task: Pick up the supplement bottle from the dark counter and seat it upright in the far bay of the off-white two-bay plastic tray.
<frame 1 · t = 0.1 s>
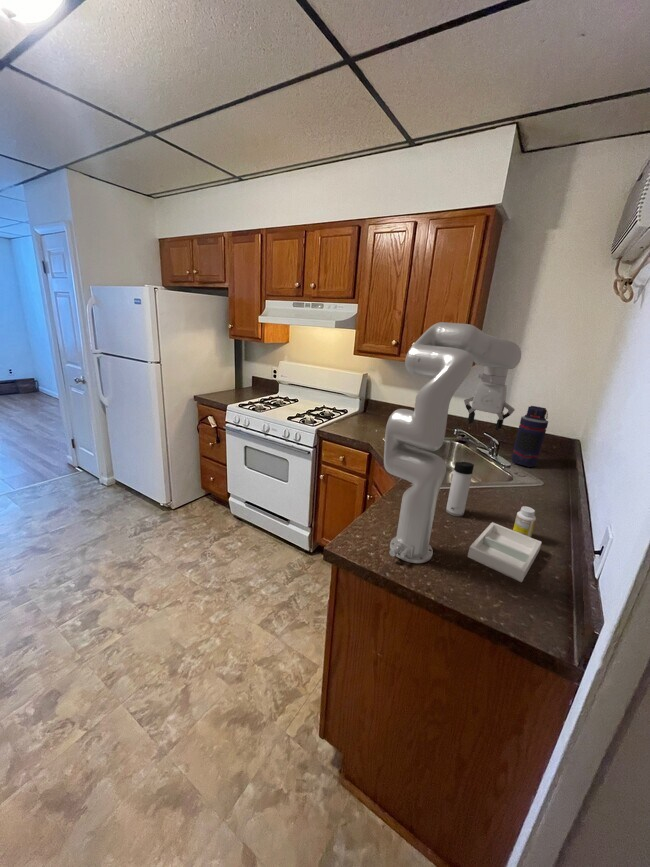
hand: (483, 426, 131), 31 cm above the counter, tool pointing down, fingers open, 9 cm apart
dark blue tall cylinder: (523, 463, 186), on the counter
supplement bottle: (520, 536, 120), on the counter
travel mug: (454, 513, 132), on the counter
bay tray: (504, 554, 110), on the counter
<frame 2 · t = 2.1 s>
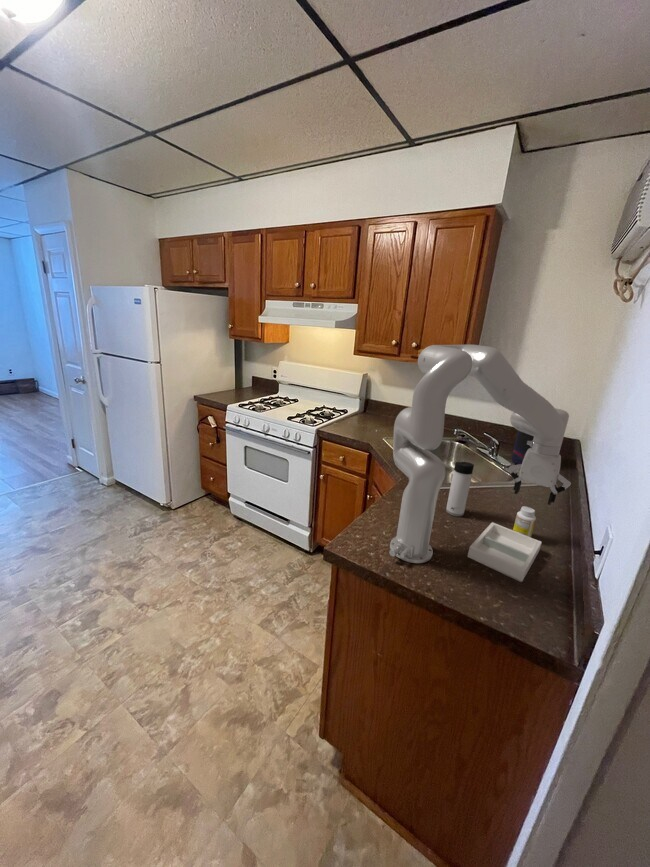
hand: (532, 497, 116), 14 cm above the counter, tool pointing down, fingers open, 9 cm apart
nothing on the counter moved.
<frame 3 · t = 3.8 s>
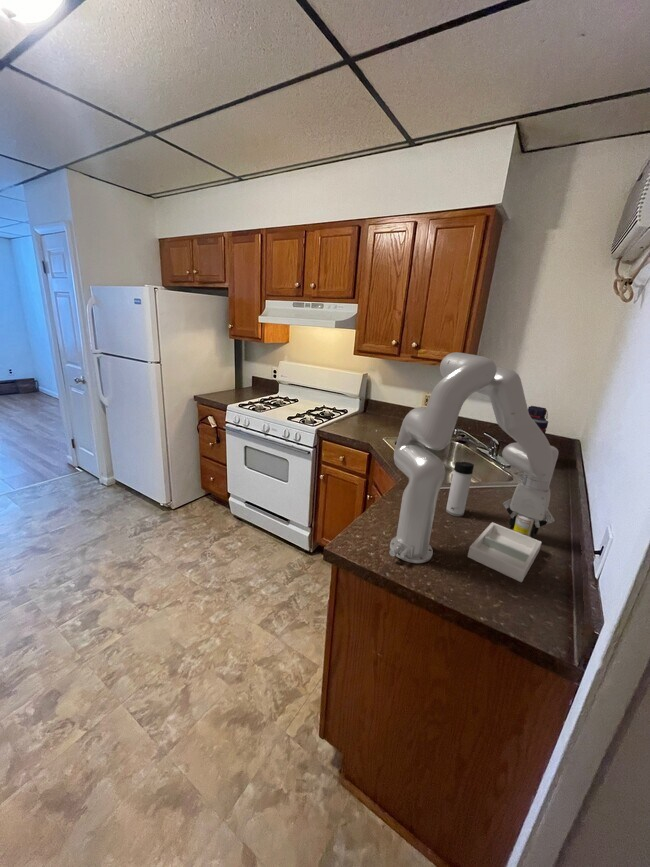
hand: (522, 531, 119), 2 cm above the counter, tool pointing down, fingers closed on supplement bottle, 5 cm apart
supplement bottle: (520, 536, 120), on the counter, touching gripper
everything else where it was.
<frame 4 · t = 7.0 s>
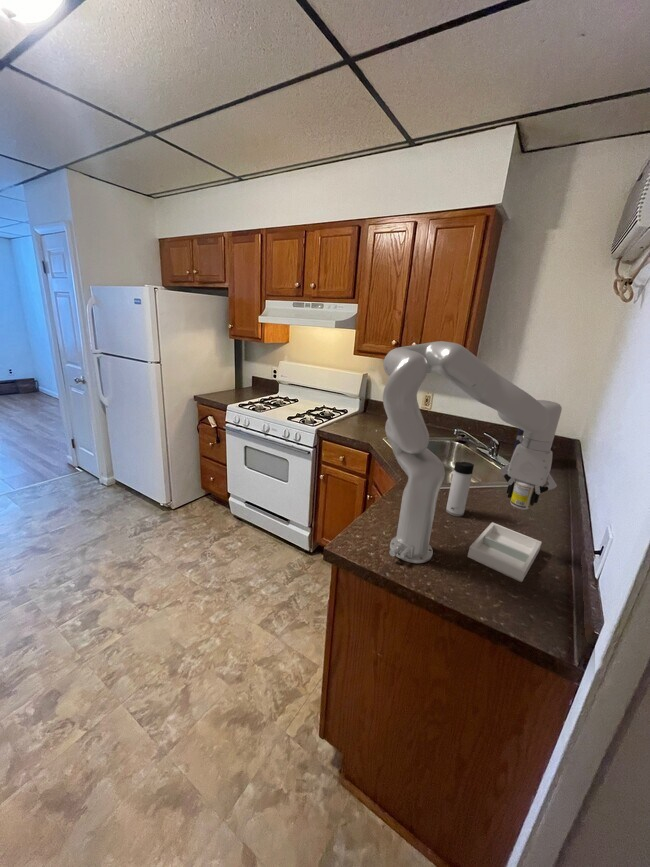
hand: (521, 499, 108), 17 cm above the counter, tool pointing down, fingers closed on supplement bottle, 5 cm apart
supplement bottle: (519, 506, 109), point 15 cm above the counter, touching gripper
everything else where it was.
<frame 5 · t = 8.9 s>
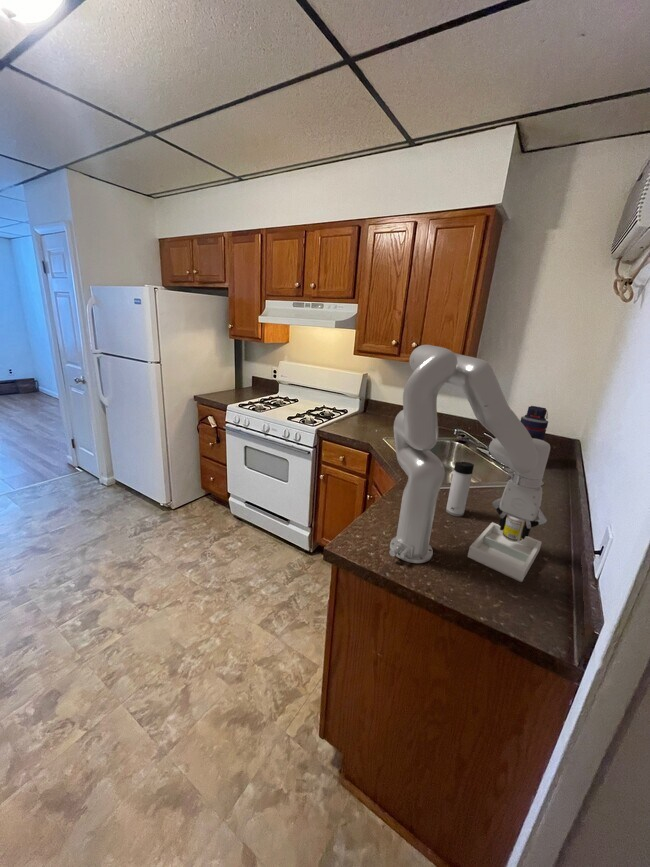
hand: (513, 532, 111), 6 cm above the counter, tool pointing down, fingers closed on supplement bottle, 5 cm apart
supplement bottle: (511, 538, 112), point 3 cm above the counter, touching gripper
everything else where it was.
when the fingers open (4 cm above the counter, at t = 10.2 s): supplement bottle drops 1 cm, resting on bay tray.
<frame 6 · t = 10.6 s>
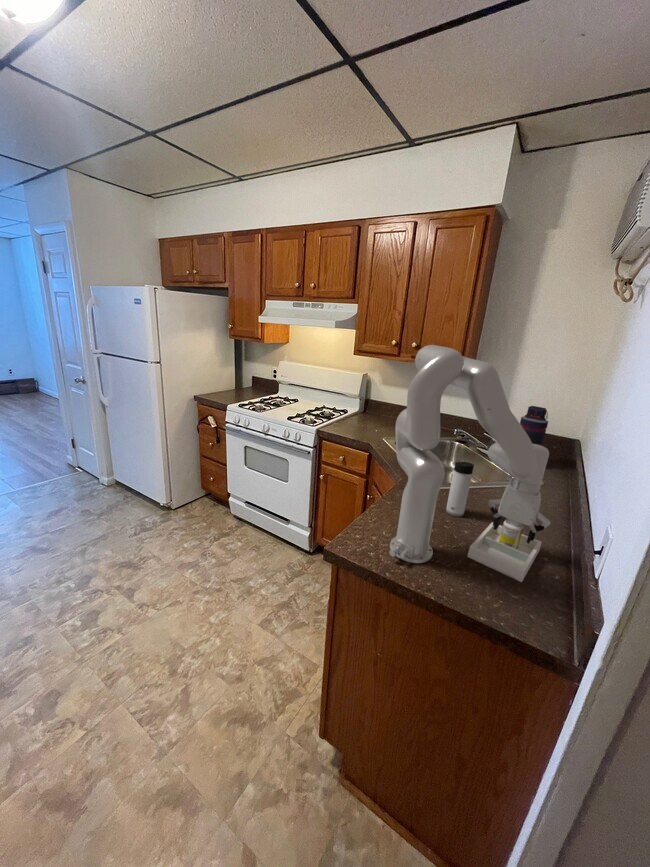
hand: (512, 534, 112), 5 cm above the counter, tool pointing down, fingers open, 9 cm apart
supplement bottle: (507, 546, 113), resting on bay tray
everything else where it was.
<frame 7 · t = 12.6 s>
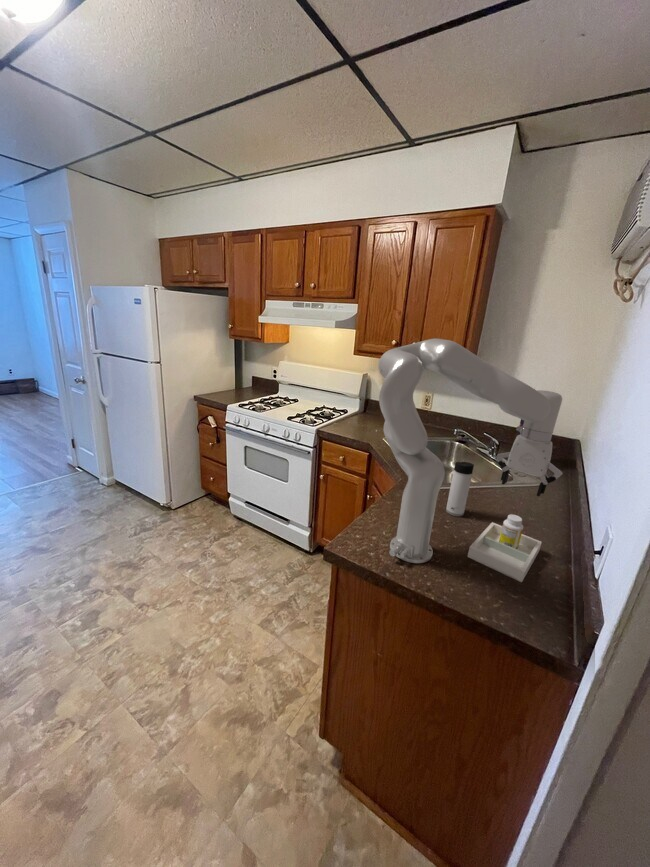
hand: (521, 488, 107), 20 cm above the counter, tool pointing down, fingers open, 9 cm apart
nothing on the counter moved.
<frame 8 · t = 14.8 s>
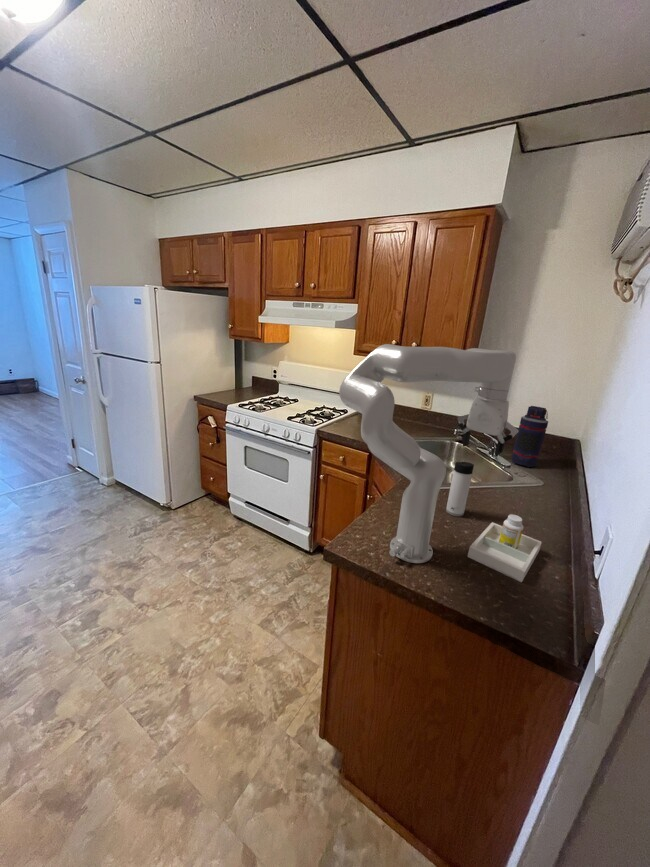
hand: (481, 449, 108), 30 cm above the counter, tool pointing down, fingers open, 9 cm apart
nothing on the counter moved.
at the end: supplement bottle inside the target area on the bay tray (0.6 cm from its centre), point 0.3 cm above the bay tray's base; supplement bottle tilted 0°; the gripper is holding nothing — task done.
